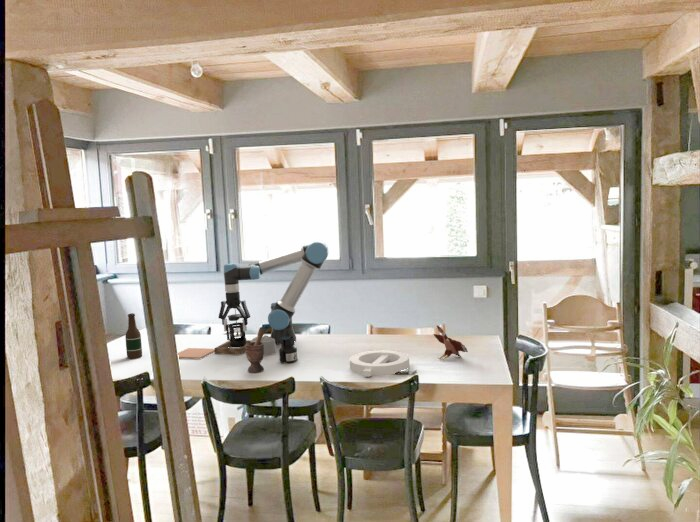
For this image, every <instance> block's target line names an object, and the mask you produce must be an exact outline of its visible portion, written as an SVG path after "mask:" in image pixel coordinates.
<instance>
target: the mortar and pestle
mask: <svg viewBox="0 0 700 522" xmlns="http://www.w3.org/2000/svg"><path fill="white" fill-rule="evenodd" d="M265 330H266V329H265V327H263V326H261V327H259V328H258V332H257V335H256V337H257V340H256V342H251V343H247V344H245V348H246V352H245V356H246V359H247V361H248V362H249V363H250V365H249V367H248V368H247V372H248V373H250V374H251V373H253V374H254V373H261V372H262V371H264V366H263V365H262V364H261V362H262V361H263V359H264V356H265V355H264V345H263V343H261V342H260V341H261V339H262V337H263V336H265V335H264V334H265V333H266V331H265Z"/></svg>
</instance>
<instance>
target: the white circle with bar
mask: <svg viewBox="0 0 700 522" xmlns="http://www.w3.org/2000/svg"><path fill="white" fill-rule="evenodd" d="M407 368H408V369H409V368H410V356H409V355H408V354H407V353H404V352H401V351H397V350H390V349H389V350H388V349H387V350H385V349H384V350H383V349H382V350H379V349H378V350H377V349H376V350H368V351H362V352H359V353H355V354H353V355H351V356H350V357H349V369H350V371H351V372H352V373H354V374H356V375H362V377H368V378H370V377H383V376H391V375H396V374H395V373H396V372H398V371H401V370H404V369H407ZM408 369H407V370H408Z"/></svg>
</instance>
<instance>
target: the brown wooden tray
mask: <svg viewBox="0 0 700 522" xmlns="http://www.w3.org/2000/svg"><path fill="white" fill-rule="evenodd" d="M251 340H252V339H251ZM251 340H250V339H248V340H247V339H246V343H250V341H251ZM228 347H229V348H228ZM214 349H215V352H214V354H215V353H224V354H223V355H243V354H246V348H245V346H243V347H237V348H233V347H230V340H227V341H226V342H224V343H222V344H221V345H218V346H216V347H215V348H214Z"/></svg>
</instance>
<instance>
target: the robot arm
mask: <svg viewBox="0 0 700 522" xmlns="http://www.w3.org/2000/svg"><path fill="white" fill-rule="evenodd" d="M328 257H329V248H328V245H327V244H326V243H325V242H324V241H323V240H320V239H319V240H318V239H316V240H313V241H311V242H310V243H308V244H305V245H302V246H301V247H300V248H298V249H294V250H292V251H288V252H285V253H282V254H278V255H276V256H272V257H270V258H266V259H263V260H260V261H257V262H252V263H250V264H248V265H247V266H238V263H236V262H234V263H232V262H231V263H226V264H223V278H224V291H225V300H222V301H220V309H219V313H218V319H221V322H222V324H221V325H222V326H223V332H227V330H226V325H227V324H228V319H227V317H228V314H229V312H230V310H231V309H234V310H235V309H236V311H238V312H239V313H238V314H241V316H242V317H243V318H242V323H243V331H245V332H246V331H247V325H248V323H249V322H248V319H249V318H251V313H250V312H249V310H248V307H247V303H246V299H245V300H241V297H240V296H241V295H240V294H241V293H240V285H239V283H240V282H239V281H252V280H253V281H255V280H259V279H261V276H262V275H264V274H268V273H271V272H274V271H277V270H280V269H283V268H287V267H289V266H293V265H294V266H295V265H297V264H300V263H301V264H300V266H299V268H298V269H297V270H296V273H295V274H294V276H293V278H292V280H291V281H290V283H289V285H288V287H287V288H286V290H285V293H283V295H282V297H281V299H280V300H277V301H276V302H272V303H271V304H270V310H271V311H270V312H269V314H268V316H267V322H268V325H269V326H270V328H271V333H270V335H269V337H271V338H274V339H275V345H281V338H282V337H287V336H291V337H294V341H295V342H297V336H296V333H295V331H294V328H293V316H294V314H295V313H296V308H295V307H296V306H297V304H298V302H299V300H300V299H301V297H302V295H303V293H304V291H305V290H306V288H307V287H308V285H309V283H310V281H311V279H312V278H313V277H314V276H313V275H314V274H315V273H316V271H318V270H320V269H321V268H322V266H323V264H324V262H325V261H326V259H327V258H328ZM226 305H227V306H226ZM231 305H234V306H231ZM225 308H226V309H225Z"/></svg>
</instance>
